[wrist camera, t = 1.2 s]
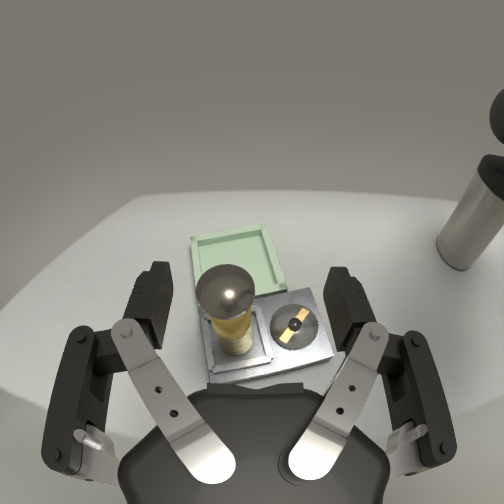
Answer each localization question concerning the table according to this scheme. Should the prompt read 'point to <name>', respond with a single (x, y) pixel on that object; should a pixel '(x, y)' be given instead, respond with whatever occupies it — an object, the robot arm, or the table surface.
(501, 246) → the table surface
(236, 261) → the tray
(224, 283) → the pin
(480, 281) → the table surface
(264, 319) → the crank deck
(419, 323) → the table surface
